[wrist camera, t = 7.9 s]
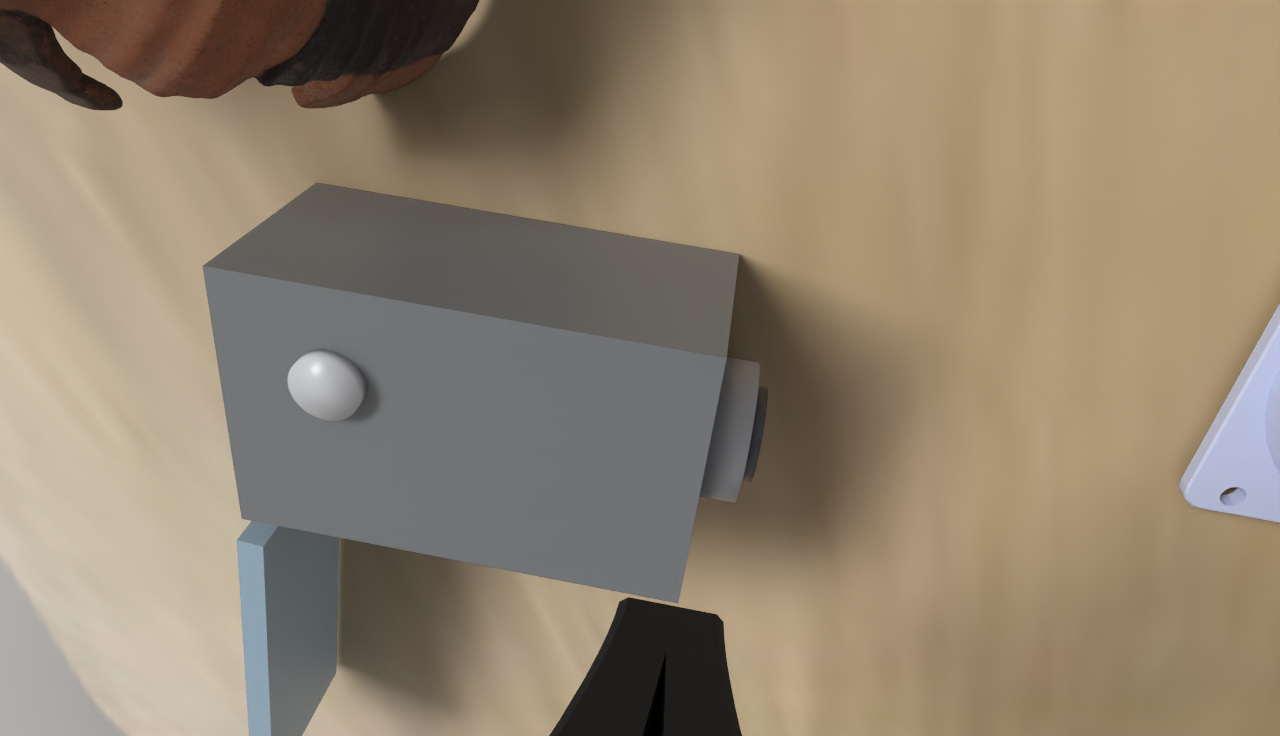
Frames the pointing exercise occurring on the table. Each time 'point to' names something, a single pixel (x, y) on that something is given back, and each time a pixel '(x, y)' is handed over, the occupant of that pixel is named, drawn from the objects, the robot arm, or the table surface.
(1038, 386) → the table surface
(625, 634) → the robot arm
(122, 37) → the pottery mug
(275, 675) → the door
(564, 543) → the camera body
